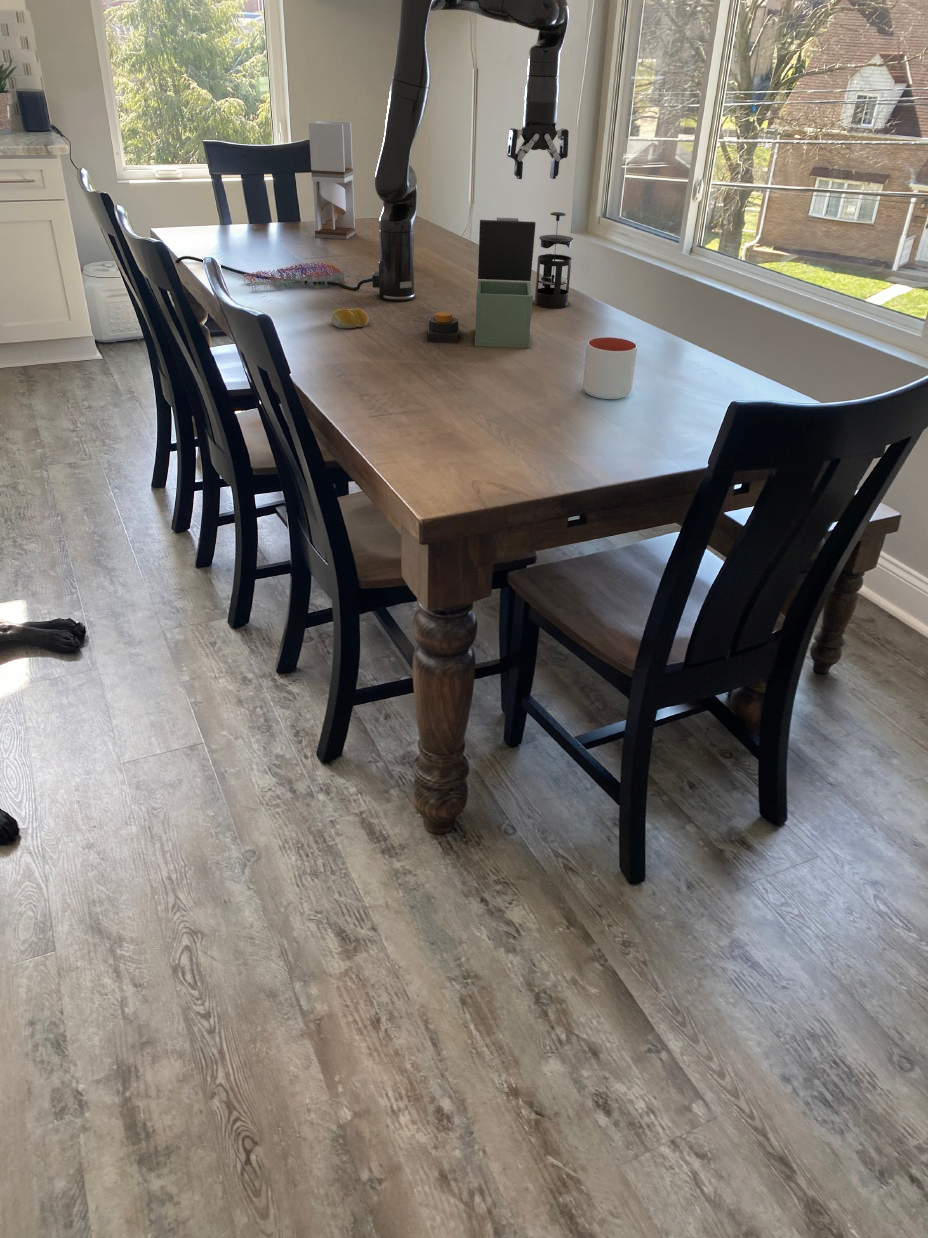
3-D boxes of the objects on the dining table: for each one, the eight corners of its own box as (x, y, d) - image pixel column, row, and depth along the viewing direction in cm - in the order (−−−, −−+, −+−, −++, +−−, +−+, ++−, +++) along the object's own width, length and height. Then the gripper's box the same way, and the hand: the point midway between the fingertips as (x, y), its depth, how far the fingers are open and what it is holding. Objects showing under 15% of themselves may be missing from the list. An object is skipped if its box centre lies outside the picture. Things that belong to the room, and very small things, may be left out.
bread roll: (374, 326, 219) (374, 309, 217) (341, 330, 215) (340, 313, 213) (358, 318, 225) (358, 301, 223) (326, 322, 221) (325, 305, 218)
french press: (573, 308, 239) (582, 215, 227) (539, 309, 238) (546, 215, 225) (560, 297, 249) (568, 208, 236) (528, 298, 247) (534, 208, 235)
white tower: (315, 237, 311) (308, 122, 291) (324, 231, 319) (318, 120, 300) (346, 239, 309) (342, 124, 290) (354, 233, 318) (351, 121, 299)
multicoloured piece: (248, 294, 241) (247, 274, 238) (236, 281, 253) (234, 262, 250) (354, 286, 252) (353, 267, 249) (337, 275, 264) (337, 256, 261)
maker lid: (535, 223, 200) (535, 211, 203) (479, 221, 201) (480, 209, 204) (530, 281, 212) (530, 269, 215) (477, 278, 212) (478, 267, 215)
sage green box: (528, 348, 208) (532, 295, 201) (474, 346, 208) (476, 293, 201) (527, 331, 219) (530, 282, 212) (475, 329, 219) (477, 279, 213)
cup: (577, 384, 187) (582, 336, 181) (624, 384, 188) (630, 337, 182) (587, 401, 178) (592, 351, 173) (636, 401, 179) (643, 351, 174)
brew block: (457, 343, 209) (457, 325, 207) (427, 341, 209) (427, 324, 207) (458, 331, 218) (459, 314, 215) (430, 330, 218) (430, 313, 216)
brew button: (451, 323, 210) (451, 316, 209) (434, 322, 210) (434, 315, 209) (452, 319, 213) (452, 311, 212) (435, 318, 213) (435, 310, 212)
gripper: (564, 98, 206) (557, 176, 215) (506, 97, 202) (502, 176, 211) (576, 100, 200) (569, 180, 209) (517, 99, 196) (512, 180, 205)
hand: (535, 178), depth 210 cm, fingers open, 8 cm apart
